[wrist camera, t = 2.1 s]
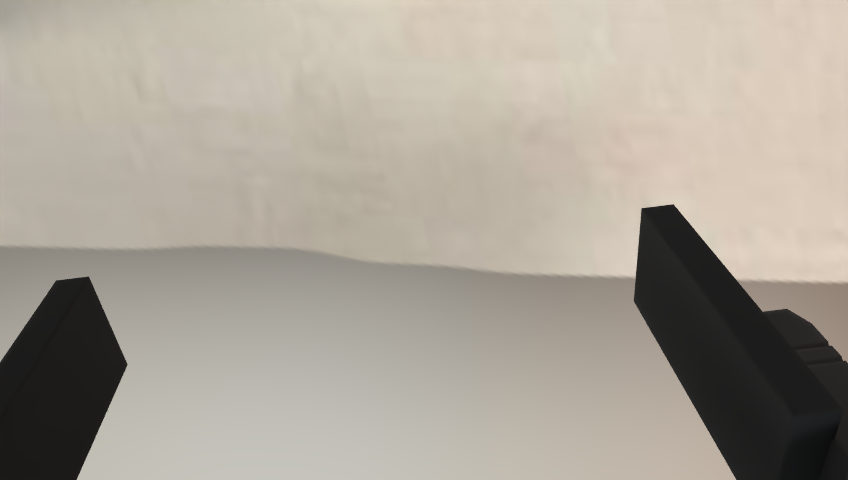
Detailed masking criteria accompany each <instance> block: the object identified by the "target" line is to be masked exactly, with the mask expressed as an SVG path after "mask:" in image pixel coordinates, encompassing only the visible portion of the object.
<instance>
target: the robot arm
mask: <svg viewBox="0 0 848 480" xmlns="http://www.w3.org/2000/svg"><path fill="white" fill-rule="evenodd" d="M634 302H635V304H636V306H637V307H638V309H639V311H640V313H641V314H642V316H643V318H644V320H645V321H646V323H647V325H648V326H649V328H650V330H651V332H652V334H653V335H654V337H655V339H656V340H657V342H658V344H659V346H660V347H661V349H662V351H663V353H664V354H665V356H666V358H667V360H668V361H669V363H670V365H671V367H672V368H673V370H674V372H675V373H676V375H677V377H678V379H679V381H680V382H681V384H682V386H683V387H684V389H685V391H686V393H687V394H688V396H689V398H690V400H691V401H692V403H693V405H694V407H695V408H696V410H697V412H698V414H699V415H700V417H701V419H702V420H703V422H704V424H705V426H706V428H707V429H708V431H709V433H710V435H711V436H712V438H713V440H714V441H715V443H716V445H717V447H718V448H719V450H720V452H721V454H722V455H723V457H724V459H725V460H726V462H727V464H728V466H729V468H730V469H731V471H732V473H733V475H734V476H735V478H736V480H848V363H847V362H846V361H843V360H842V357H841V355H840V354H839V353H838V352H837V351H836V350H835V349H834V348H833V347H832V346H829V345H828V341H827V340H826V339H825V338H824V337H823V336H822V335H821V333H820V332H819V331H818V330H817V329H816V328H815V327H814V326H813V325H812V324H811V323H810V322H808V321H806V320H805V319H803V318H801V317H800V316H798V315H796V314H795V313H793V312H791V311H790V310H788V309H783V310H774V311H766V312H762V311H761V309H760V308H759V307H758V306H757V304H756V303H755V302H754V301H753V300H752V299H751V297H750V296H749V295H748V294H747V292H746V291H745V290H744V289H743V288H742V286H741V285H740V284H739V283H738V282H737V280H736V279H735V278H734V277H733V276H732V274H731V273H730V272H729V271H728V270H727V268H726V267H725V266H724V265H723V263H722V262H721V261H720V260H719V259H718V257H717V256H716V255H715V254H714V253H713V251H712V250H711V249H710V248H709V247H708V245H707V244H706V243H705V242H704V241H703V239H702V238H701V237H700V236H699V235H698V233H697V232H696V231H695V230H694V228H693V227H692V226H691V225H690V224H689V222H688V221H687V220H686V219H685V218H684V216H683V215H682V214H681V213H680V212H679V210H678V209H677V208H676V207H675V206H674V204H673V205H665V206H657V207H649V208H642V211H641V223H640V235H639V246H638V258H637V270H636V282H635V295H634ZM126 367H127V362H126V360H125V358H124V356H123V353H122V351H121V349H120V347H119V344H118V342H117V340H116V337H115V335H114V333H113V330H112V328H111V326H110V324H109V321H108V319H107V317H106V315H105V312H104V310H103V308H102V305H101V303H100V301H99V299H98V296H97V294H96V292H95V290H94V287H93V285H92V283H91V280H90V278H89V277H82V278H74V279H66V280H58V281H56V282H55V283H54V285H53V286H52V288H51V289H50V290H49V292H48V294H47V295H46V296H45V298H44V299H43V301H42V302H41V304H40V305H39V307H38V308H37V309H36V311H35V312H34V314H33V315H32V317H31V318H30V320H29V321H28V323H27V324H26V325H25V327H24V329H23V330H22V331H21V333H20V334H19V336H18V337H17V339H16V340H15V342H14V343H13V344H12V346H11V348H10V349H9V350H8V352H7V353H6V355H5V356H4V358H3V359H2V360H1V362H0V480H77V477H78V475H79V473H80V471H81V468H82V466H83V464H84V461H85V459H86V457H87V455H88V453H89V450H90V448H91V446H92V444H93V441H94V439H95V437H96V435H97V432H98V430H99V427H100V426H101V423H102V421H103V419H104V417H105V414H106V412H107V410H108V407H109V405H110V403H111V401H112V398H113V396H114V394H115V392H116V389H117V387H118V385H119V383H120V380H121V378H122V376H123V373H124V371H125V369H126Z"/></svg>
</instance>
